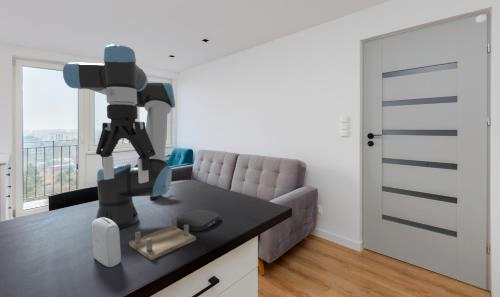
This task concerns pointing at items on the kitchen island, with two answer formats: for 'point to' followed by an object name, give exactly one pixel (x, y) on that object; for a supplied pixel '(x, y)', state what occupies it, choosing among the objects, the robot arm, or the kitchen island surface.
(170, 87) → the robot arm
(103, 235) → the photo printer
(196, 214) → the media streaming box
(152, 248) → the peg board
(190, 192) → the kitchen island surface
